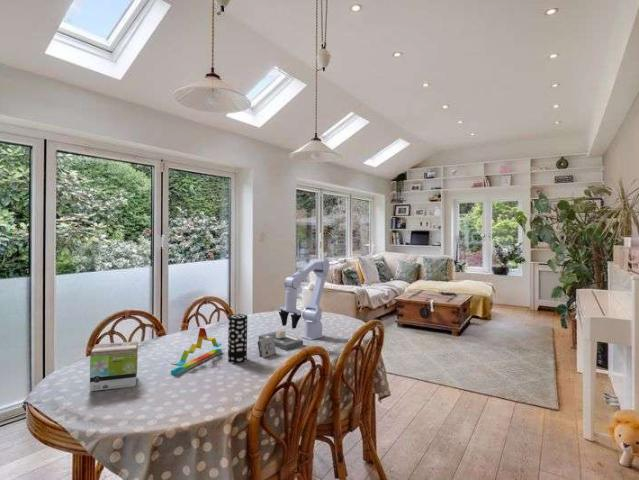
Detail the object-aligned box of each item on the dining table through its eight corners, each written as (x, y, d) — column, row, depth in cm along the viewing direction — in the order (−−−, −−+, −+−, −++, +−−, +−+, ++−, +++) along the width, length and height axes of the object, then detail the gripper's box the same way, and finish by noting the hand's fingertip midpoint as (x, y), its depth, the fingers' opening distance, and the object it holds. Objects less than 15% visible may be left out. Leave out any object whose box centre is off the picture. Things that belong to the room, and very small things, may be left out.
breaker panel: (276, 336, 206) (276, 331, 206) (303, 345, 190) (303, 340, 190) (258, 340, 197) (258, 335, 197) (285, 350, 182) (285, 345, 182)
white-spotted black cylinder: (250, 358, 169) (250, 315, 169) (240, 364, 162) (241, 319, 161) (234, 356, 172) (235, 313, 172) (224, 362, 164) (224, 317, 164)
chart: (177, 376, 148) (177, 339, 148) (170, 374, 149) (171, 338, 149) (222, 353, 177) (222, 322, 176) (216, 352, 178) (217, 321, 177)
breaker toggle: (281, 335, 196) (281, 328, 196) (285, 336, 194) (285, 329, 194) (275, 337, 193) (275, 330, 193) (279, 338, 191) (279, 331, 191)
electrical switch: (263, 358, 170) (262, 340, 170) (256, 357, 173) (255, 339, 173) (276, 353, 177) (275, 336, 177) (269, 352, 180) (268, 335, 180)
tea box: (89, 393, 131) (89, 352, 131) (93, 382, 140) (93, 343, 140) (136, 386, 137) (136, 347, 137) (137, 376, 146) (138, 339, 146)
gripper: (275, 298, 191) (274, 325, 191) (294, 302, 181) (292, 330, 181) (286, 298, 196) (284, 323, 196) (304, 302, 186) (303, 329, 186)
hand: (289, 326), depth 189 cm, fingers open, 7 cm apart
